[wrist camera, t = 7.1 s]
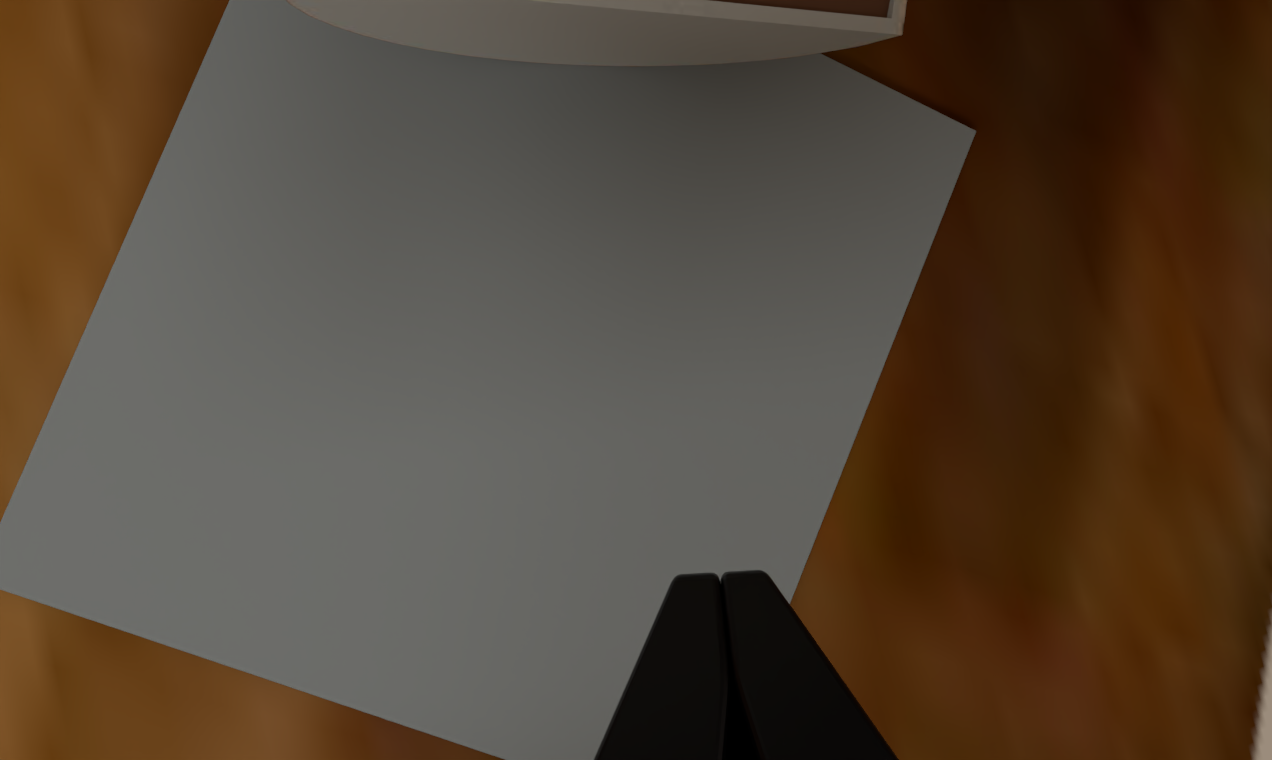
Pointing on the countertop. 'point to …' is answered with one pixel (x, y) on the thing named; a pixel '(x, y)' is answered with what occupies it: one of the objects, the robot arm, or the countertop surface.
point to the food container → (618, 28)
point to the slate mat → (474, 365)
